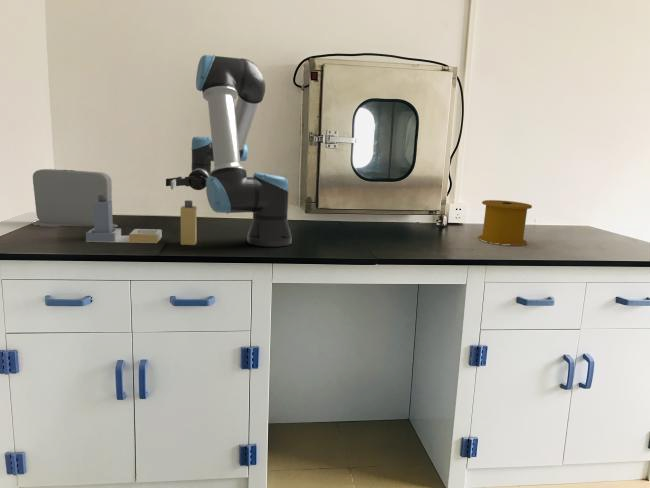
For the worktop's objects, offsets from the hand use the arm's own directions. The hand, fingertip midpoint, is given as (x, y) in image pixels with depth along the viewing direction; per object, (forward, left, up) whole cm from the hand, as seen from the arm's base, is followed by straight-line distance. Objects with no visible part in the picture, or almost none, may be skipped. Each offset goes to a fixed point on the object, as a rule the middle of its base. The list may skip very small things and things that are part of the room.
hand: (192, 186), depth 180 cm
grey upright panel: (+43, -14, -18) cm, 49 cm away
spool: (-117, -3, -18) cm, 118 cm away
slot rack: (+20, +12, -17) cm, 29 cm away
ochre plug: (0, +12, -17) cm, 21 cm away
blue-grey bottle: (+26, +12, -16) cm, 33 cm away
